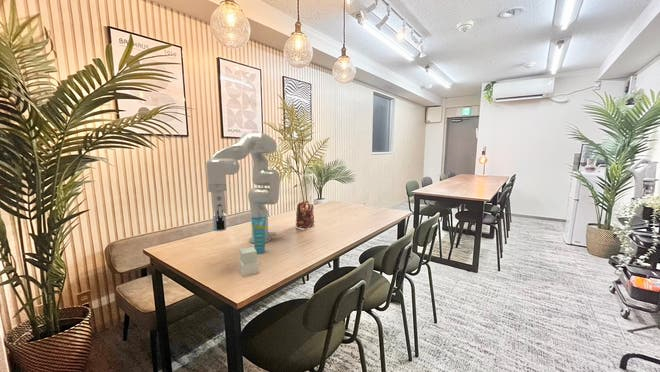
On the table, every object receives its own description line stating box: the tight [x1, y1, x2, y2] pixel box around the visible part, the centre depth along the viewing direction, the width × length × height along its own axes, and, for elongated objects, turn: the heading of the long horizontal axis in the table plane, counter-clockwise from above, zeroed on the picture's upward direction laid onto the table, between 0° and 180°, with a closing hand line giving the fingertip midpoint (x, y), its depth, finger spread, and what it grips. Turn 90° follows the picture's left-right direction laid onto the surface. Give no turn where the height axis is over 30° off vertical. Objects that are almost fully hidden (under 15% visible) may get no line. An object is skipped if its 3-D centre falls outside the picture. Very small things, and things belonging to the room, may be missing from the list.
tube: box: [250, 216, 266, 255], centre depth 142 cm, size 7×5×19 cm, turn 103°
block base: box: [238, 259, 260, 277], centre depth 120 cm, size 7×7×5 cm
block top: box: [239, 246, 258, 265], centre depth 120 cm, size 6×6×5 cm
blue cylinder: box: [212, 214, 227, 232], centre depth 121 cm, size 5×5×6 cm
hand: (219, 227), depth 121 cm, fingers closed on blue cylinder, 5 cm apart
